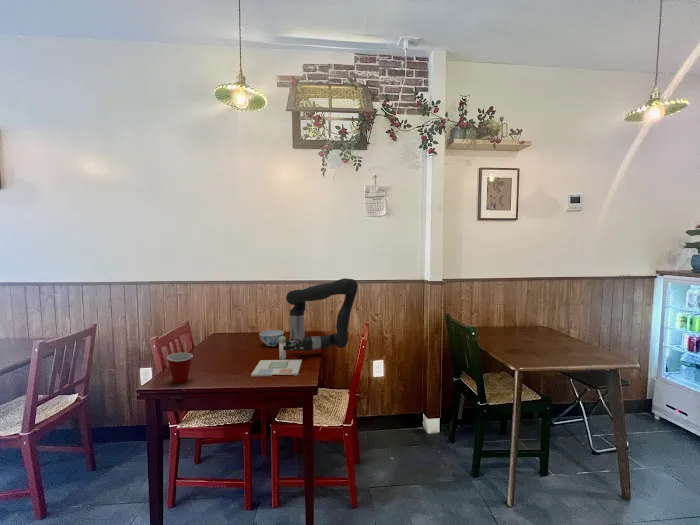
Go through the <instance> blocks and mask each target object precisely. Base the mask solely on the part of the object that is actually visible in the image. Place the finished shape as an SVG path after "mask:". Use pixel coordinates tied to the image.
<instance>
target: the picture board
mask: <svg viewBox="0 0 700 525" xmlns="http://www.w3.org/2000/svg"><path fill="white" fill-rule="evenodd" d="M302 363H303V360H302V359H285V360H280V359H269V360H267V359H266V360H265V359H263V360H261V359H260V360H259V362H258V363H257V365H256V366H255V368H254V369H253V371H252V373H250V374H251V375H250V377H273V376H272V375H294V376H298V375H299V372H300V370H301V366H302Z"/></svg>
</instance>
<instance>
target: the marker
mask: <svg viewBox="0 0 700 525" xmlns="http://www.w3.org/2000/svg"><path fill="white" fill-rule="evenodd" d="M286 340H287V337H286V336H284V335H283V336H281V337H279V343H278V348H279V349H278V355H279V356H278V357H279V359H278V360H287V350H283V347H284V346H286Z"/></svg>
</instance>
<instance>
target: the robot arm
mask: <svg viewBox="0 0 700 525" xmlns="http://www.w3.org/2000/svg"><path fill="white" fill-rule="evenodd" d="M358 287H359V286H358V282H357V281H356V279H353V278H346V277H345V278H340V279H338V280H336V281H333V282H329V283H328V282H327V283H325V282H324V283H321V284H315V285H313V286H310V287H306V288H304V289H295V290H290V291H289V292H287V294H286V297H285V300H286V302H287V303H288V304H289V305H291V306H293V307H292V308H291V309H290V310H289V340H287V341H286V346H284V347H283V350H286V351H292V352H298V351H304V352H308V351H317V350H323V349H329V348H330V347H332V346H333V347H334V346H336V347H337V348H339V349H344V348H345V347H347V345H348V343H349V326H350V325H349V324H350V317H351V311H352V308H353V306H354V302H355V298H356V295H357V292H358ZM337 295H345V296H344V301H343V304H342V306H341V308H340V309H339V312H338V314H337V317H336V324H335V325H336V326H335V328H336V333H332V334H328V335H319V336H318V335H317V336H316V335H314V336H305V311H306V302H315V301H321V300H325V299H327V298H330V297H331V296H337Z"/></svg>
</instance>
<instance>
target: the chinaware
mask: <svg viewBox="0 0 700 525" xmlns="http://www.w3.org/2000/svg"><path fill="white" fill-rule="evenodd" d="M284 334H285V332H284V331H283V330H280V329H268V330H263V331H260V332H259V333H258V336H259V338H260V340H261V342H262V343H264V344H265V346H267V347H269V346H272V347H277V345H278V344H279V337H281V336H284Z"/></svg>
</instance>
